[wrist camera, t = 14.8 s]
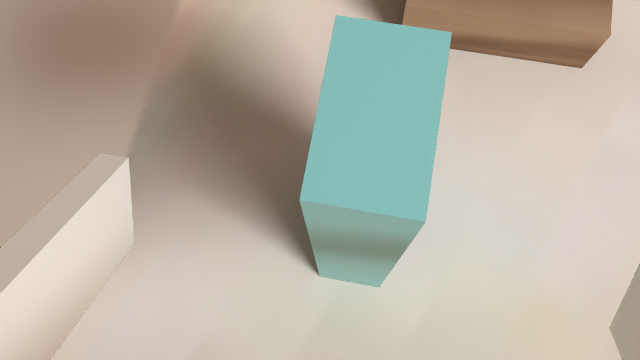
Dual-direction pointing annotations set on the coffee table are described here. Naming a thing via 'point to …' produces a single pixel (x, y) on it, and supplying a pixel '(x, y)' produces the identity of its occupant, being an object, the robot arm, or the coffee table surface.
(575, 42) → the walnut box
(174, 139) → the coffee table surface
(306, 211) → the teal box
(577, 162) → the coffee table surface
